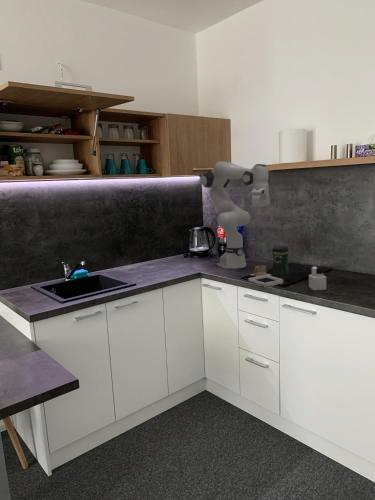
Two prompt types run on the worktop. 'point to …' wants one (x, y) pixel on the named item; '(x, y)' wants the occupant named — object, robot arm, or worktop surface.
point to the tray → (268, 284)
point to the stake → (256, 275)
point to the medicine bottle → (317, 279)
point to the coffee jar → (280, 260)
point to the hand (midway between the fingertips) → (261, 213)
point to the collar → (260, 270)
